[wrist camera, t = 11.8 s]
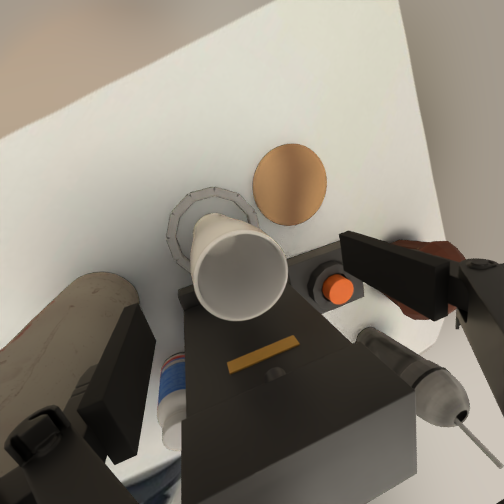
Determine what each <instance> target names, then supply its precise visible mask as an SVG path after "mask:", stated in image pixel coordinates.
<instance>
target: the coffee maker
mask: <svg viewBox="0 0 504 504" xmlns="http://www.w3.org/2000/svg"><path fill="white" fill-rule="evenodd" d="M190 196H191V197H190ZM190 196H189V195H188V194H187V195H186V196H185V198H184V199H183V200H182V201H181V202H180V203H179V204H178V205H177V206H176V207H175V208H174V209H173V210H172V213H171V214H170V219H169V224H168V229H167V235H166V237H167V239H166V240H167V243H168V245H169V248H170V250H171V253H172V256H173V258H174V260H176V263H177V264H179V265H180V266H181V267H183V268H184V269H185V270H186V271H188V272H189V273H190V274H191V271H190V260H189V259H188V258H186V257H185V256H184V255H183V254H182V252H181V249H180V247H179V244H178V241H177V239H176V232H177V227H178V222H179V217H180V216H181V215H182V214H183V213H184V212H185V211H186V210H187V209H188V208H189V207H190V206H191V205H192V203H193V202H195V201H199V200H202V199H206V198H209V197H213V196H216V197H220V198H224V199H228V200H231V201H234V202H235V203H236V205H237V206H238V207H239V208H240V209H241V210H242V211H243V212H244V213H245V214H246V216H247V219H248V223H249V224H252V225H253V226H255V227H257V228H259V229H260V227H259V223H258V219H257V215H256V212H254V211H255V210H254V209H253V208H252V207H251V206H250V205H249V204H248V203H247V202H246V201H245V199H244V198H243V197H242V196H241V195H240V194H238V193H235V192H232V191H228V190H224V189H221V188H217V187H214V188H213V187H209V188H206V189H202V190H198V191H195V192H191V193H190ZM178 298H179V300H180V303H181V305H182V308H183V310H184V341H185V383H186V419H184V420H182V421H181V504H366V503H368V502H370V501H371V500H373V499H375V498H376V497H378V496H380V495H381V494H383V493H385V492H386V491H388V490H390V489H391V488H393V487H395V486H396V485H398V484H400V483H402V482H403V481H405V480H406V479H408V478H410V477H411V476H413V475H415V474H416V473H417V452H416V451H417V450H416V449H417V447H416V394H415V390H414V389H413V388H412V387H411V386H410V385H409V384H407V383H406V382H405V381H404V380H403V379H402V378H401V377H400V376H398V375H397V374H396V373H395V372H394V371H393V370H392V369H391V368H390V367H388V366H387V365H386V364H385V363H384V362H383V361H382V360H381V359H379V358H378V357H377V356H376V355H375V354H374V353H373V352H372V351H370V350H369V349H368V348H367V347H366V346H365V345H364V344H363V343H361V342H360V341H358V342H356V343H354V344H352V343H351V342H350V341H349V340H348V339H347V338H346V337H345V336H344V335H343V334H342V333H340V332H339V331H338V330H337V329H336V328H335V327H334V326H333V325H332V324H331V323H330V322H329V321H328V320H327V319H326V318H325V317H324V316H322V315H321V314H320V313H319V312H318V311H317V310H316V309H315V308H314V307H313V306H312V305H311V304H310V303H309V302H308V301H307V300H306V299H305V298H303V297H302V296H301V295H300V294H299V293H298V292H297V291H296V290H295V289H294V288H293V287H292V286H291V285H290V284H289V283H288V282H287V283H286V286H285V289H284V291H283V293H282V295H281V297H280V298H279V299H278V301H277V302H276V303H275V304H274V305H273V306H272V307H271V308H270V309H269V310H268V311H266V312H265V313H263V314H261V315H259V316H257V317H255V318H252V319H249V320H244V321H229V320H224V319H221V318H218V317H216V316H214V315H212V314H211V313H210V312H208V311H207V310H206V309H205V308H204V307H203V306H202V305H201V303H200V302H199V300H198V298H197V296H196V293H195V290H194V286H193V285H191V286H188V287H185V288H182V289H179V290H178Z"/></svg>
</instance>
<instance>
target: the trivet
mask: <svg viewBox="0 0 504 504" xmlns="http://www.w3.org/2000/svg"><path fill="white" fill-rule="evenodd" d="M326 187H327V179H326V172H325V169H324V166H323V164H322V162H321V160H320V159H319V157H318V156H317V155H316V154H315V153H314V152H313V151H312V150H310V149H309V148H307V147H305V146H303V145H299V144H285V145H282V146H279V147H276V148H274V149H273V150H271V151H270V152H268V153H267V154H266V155H265V156H264V157H263V159H262V160H261V161H260V163H259V165H258V167H257V169H256V171H255V174H254V179H253V195H254V199H255V202H256V204H257V207H258V208H259V210H260V211H261V213H262V214H263V215H264V216H265V217H266V218H268V219H269V220H270V221H272V222H274V223H277V224H280V225H285V226H291V225H297V224H300V223H302V222H304V221H306V220H308V219H309V218H310V217H312V216H313V215H314V214H315V213H316V211H317V210H318V209H319V207H320V206H321V204H322V202H323V199H324V197H325V193H326Z"/></svg>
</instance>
